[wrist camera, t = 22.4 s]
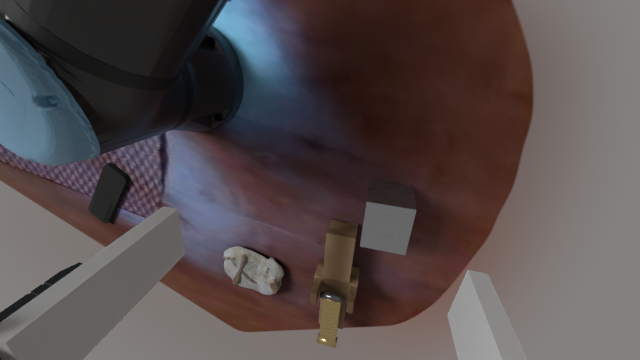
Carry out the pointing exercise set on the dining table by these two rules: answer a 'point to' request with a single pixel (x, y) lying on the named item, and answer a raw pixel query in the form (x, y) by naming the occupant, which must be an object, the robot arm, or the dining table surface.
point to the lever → (329, 318)
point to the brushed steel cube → (388, 217)
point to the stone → (253, 270)
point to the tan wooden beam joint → (338, 267)
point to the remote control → (108, 192)
